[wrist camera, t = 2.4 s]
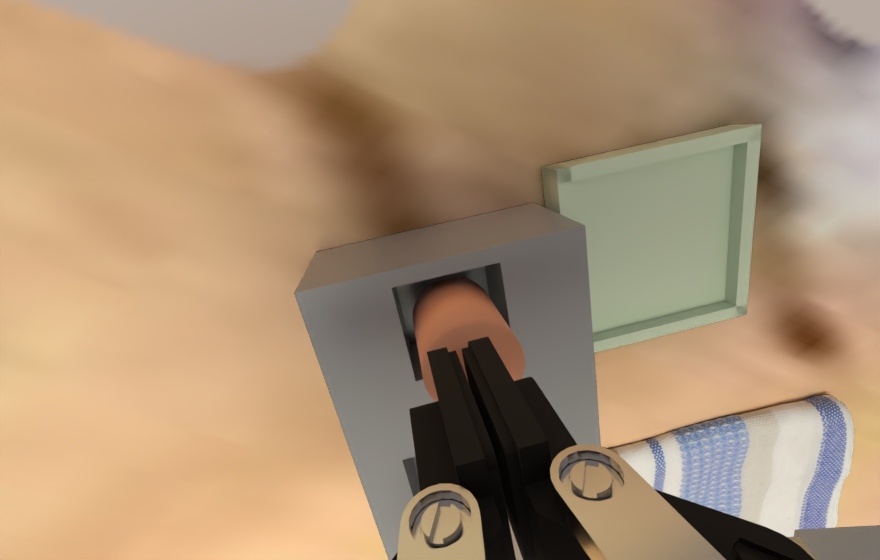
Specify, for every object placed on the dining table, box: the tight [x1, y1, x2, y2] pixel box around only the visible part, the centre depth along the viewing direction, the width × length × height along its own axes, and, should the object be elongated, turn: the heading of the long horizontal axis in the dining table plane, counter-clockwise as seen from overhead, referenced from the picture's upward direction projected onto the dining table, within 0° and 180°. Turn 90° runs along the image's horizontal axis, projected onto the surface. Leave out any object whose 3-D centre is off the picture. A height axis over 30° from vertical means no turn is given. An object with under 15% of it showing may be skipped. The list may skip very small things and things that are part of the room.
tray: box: [541, 124, 762, 353], centre depth 19 cm, size 9×9×2 cm
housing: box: [294, 203, 601, 560], centre depth 19 cm, size 10×15×5 cm, turn 11°
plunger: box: [413, 277, 525, 402], centre depth 14 cm, size 3×3×4 cm
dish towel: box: [609, 395, 854, 537], centre depth 27 cm, size 17×24×3 cm
